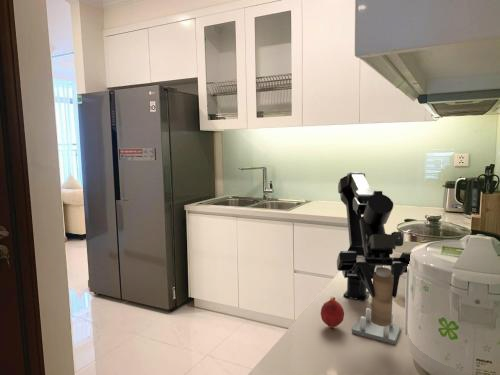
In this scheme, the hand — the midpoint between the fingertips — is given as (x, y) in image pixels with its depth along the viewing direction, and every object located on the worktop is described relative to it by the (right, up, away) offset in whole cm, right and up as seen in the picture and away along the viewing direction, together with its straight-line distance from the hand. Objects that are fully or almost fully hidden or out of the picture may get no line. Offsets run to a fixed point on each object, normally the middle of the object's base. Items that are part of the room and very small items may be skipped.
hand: (384, 296), depth 80 cm
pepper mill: (0, -6, +2) cm, 7 cm away
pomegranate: (-9, -11, +10) cm, 18 cm away
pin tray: (+1, -11, +9) cm, 14 cm away
